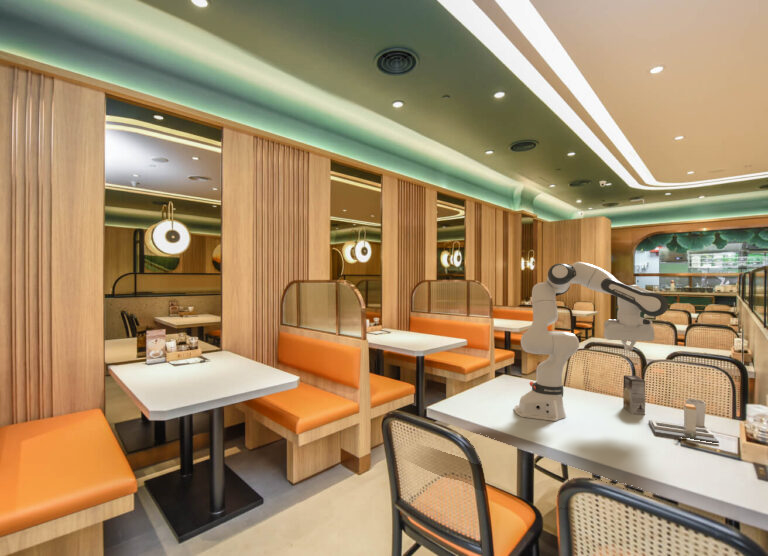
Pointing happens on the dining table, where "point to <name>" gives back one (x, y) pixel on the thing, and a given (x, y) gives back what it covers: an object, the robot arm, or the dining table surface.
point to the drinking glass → (698, 410)
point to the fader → (689, 417)
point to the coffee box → (634, 394)
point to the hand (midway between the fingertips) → (628, 349)
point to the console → (681, 431)
